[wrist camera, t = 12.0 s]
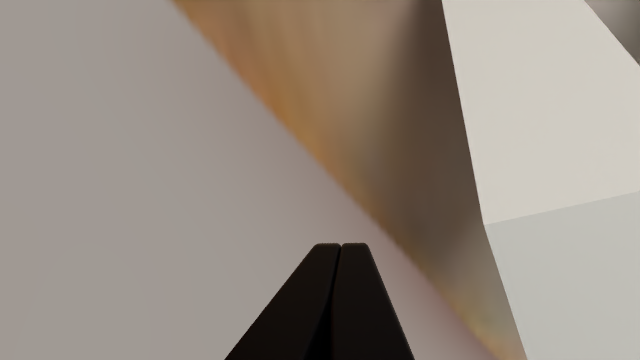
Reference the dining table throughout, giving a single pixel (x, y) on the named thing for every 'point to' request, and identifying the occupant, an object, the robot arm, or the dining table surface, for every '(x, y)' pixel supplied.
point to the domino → (555, 169)
